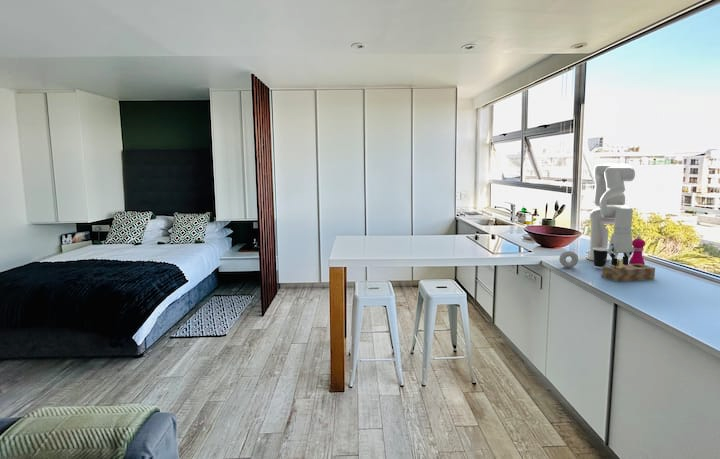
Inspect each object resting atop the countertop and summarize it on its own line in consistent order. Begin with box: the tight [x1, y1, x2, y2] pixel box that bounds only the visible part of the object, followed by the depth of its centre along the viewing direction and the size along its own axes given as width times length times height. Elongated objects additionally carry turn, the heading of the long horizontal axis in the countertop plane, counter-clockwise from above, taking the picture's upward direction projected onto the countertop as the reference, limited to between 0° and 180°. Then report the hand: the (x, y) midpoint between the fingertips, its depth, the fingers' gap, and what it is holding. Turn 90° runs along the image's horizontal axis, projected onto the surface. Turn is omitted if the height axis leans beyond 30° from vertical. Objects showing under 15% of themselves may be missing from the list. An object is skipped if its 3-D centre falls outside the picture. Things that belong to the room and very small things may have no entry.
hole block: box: [601, 263, 656, 283], centre depth 218 cm, size 22×10×6 cm, turn 99°
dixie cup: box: [593, 247, 609, 270], centre depth 240 cm, size 8×8×11 cm
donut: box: [559, 250, 579, 268], centre depth 241 cm, size 10×4×10 cm, turn 76°
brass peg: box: [616, 258, 623, 269], centre depth 217 cm, size 3×3×10 cm
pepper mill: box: [628, 235, 646, 265], centre depth 229 cm, size 7×7×20 cm
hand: (619, 264), depth 217 cm, fingers open, 5 cm apart
